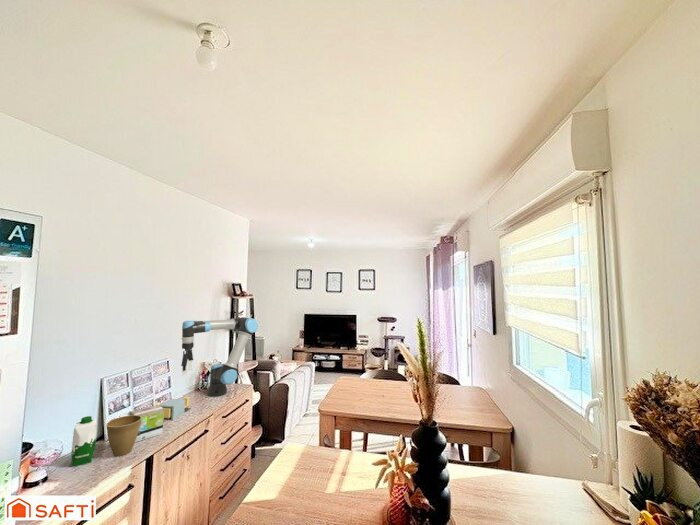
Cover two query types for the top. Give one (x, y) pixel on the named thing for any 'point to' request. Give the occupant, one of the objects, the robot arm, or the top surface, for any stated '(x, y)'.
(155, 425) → the tea box
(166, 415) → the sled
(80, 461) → the milk carton
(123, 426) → the plant pot
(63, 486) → the top surface
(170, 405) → the tunnel
